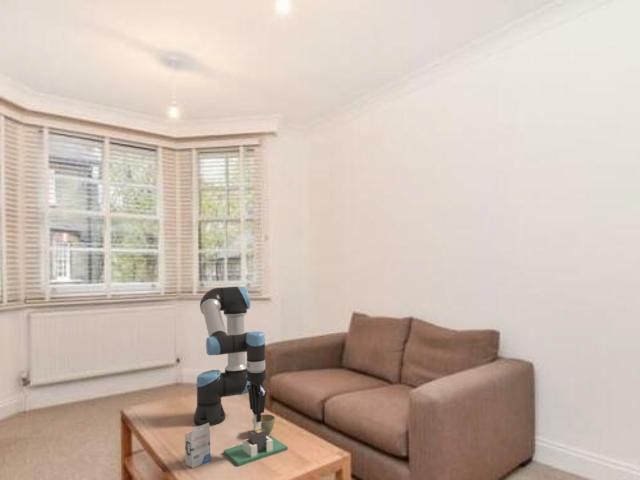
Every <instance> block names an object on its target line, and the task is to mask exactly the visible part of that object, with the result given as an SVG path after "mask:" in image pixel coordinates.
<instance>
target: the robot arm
mask: <svg viewBox="0 0 640 480" xmlns="http://www.w3.org/2000/svg"><path fill="white" fill-rule="evenodd" d="M199 308H200V313H202V315H203V316H204V321H205V325H206V329H207V333H208V334H207V335H208V337H207V338H206V340H205V350H206V354H207V355H208V356H221V355H227V365H226V366H225V367H224V372H221V370H220V369H210V370H207V371H204V372H201V373H200V374H198V375H197V377H196V386H195V387H196V408H195V412H194V415H193V424H194V425H195V426H201V425H204V424H206V423H209V427H210V426H215V425H218V424H219V425H220V424H221V423H223V422H224V421H225V420H226V412H225V410H224V407H223V404H222V398H227V397H231V396H232V397H233V396H241V395H245V394H248V400H249V408H250V410H251V411H252V414H253V416H252V423H253V422H254V424H253V429H254V430H259V429H261V415H262V414H264V413H265V408H266V407H265V406H266V397H267V393H268V392H267V390H265V389H264V381H265V380H266V379H267V378H266V377H267V376H266V337H265V333H264V331H259V330H257V331H246V332H245V316H246V315H247V313H248V310H249V309H250V308H251V299H250V294H249V291H248V289H247V287H245V286H224V287H213V288H211V289H209V290H208V291H207V292H206V293H205V294H203V296H202V298H201V299H200V301H199ZM221 312H223V315H224V316H225V317H226V327H225V323H224V319H223V316H222V313H221ZM245 355H246V356H245Z"/></svg>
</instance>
